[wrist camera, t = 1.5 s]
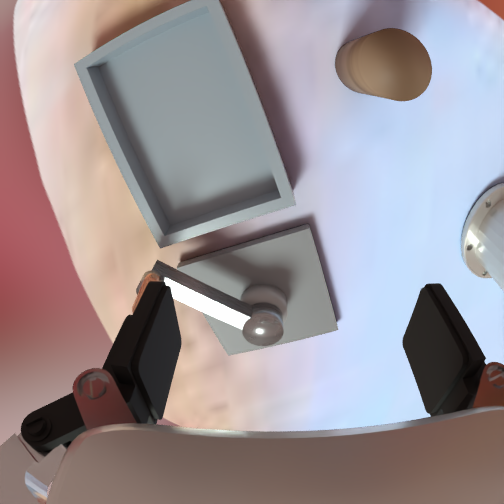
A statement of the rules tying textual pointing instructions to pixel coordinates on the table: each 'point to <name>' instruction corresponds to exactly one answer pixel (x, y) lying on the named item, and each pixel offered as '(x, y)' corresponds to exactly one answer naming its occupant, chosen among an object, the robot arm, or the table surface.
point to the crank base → (269, 268)
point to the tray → (186, 123)
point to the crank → (219, 305)
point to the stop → (385, 65)
